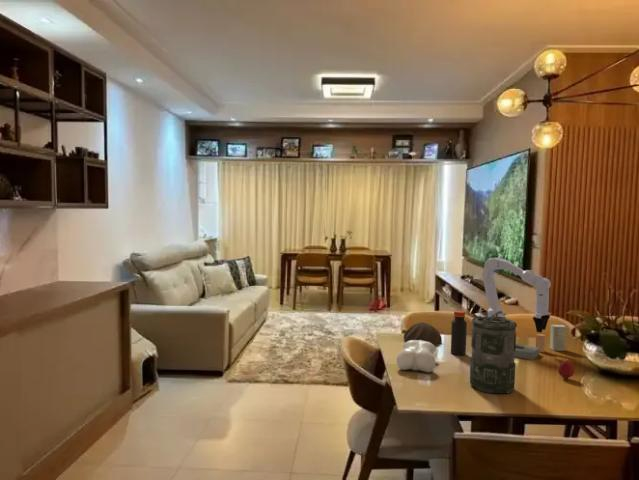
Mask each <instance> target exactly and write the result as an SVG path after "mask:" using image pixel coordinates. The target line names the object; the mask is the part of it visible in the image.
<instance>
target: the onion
mask: <svg viewBox="0 0 639 480" xmlns="http://www.w3.org/2000/svg"><path fill="white" fill-rule="evenodd" d="M569 361H570V360H569V359H565V360H564V361H562V362H561V363H560V364H559V365H558V367H557V372H558V374H559V375H560V376H561V377H562V378H563V379H565V380H569V378H571V377H572V376H573V375H574V374H575V367H574V366H573V364H572V363H570V362H569Z"/></svg>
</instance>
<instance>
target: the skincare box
mask: <svg viewBox="0 0 639 480" xmlns="http://www.w3.org/2000/svg"><path fill="white" fill-rule="evenodd" d="M549 329H550V330H549V332H550V333H549V335H550V336H549V349H550V350H552V351H556V352H557V351H559V352H560V351H561V352H563V351H565V352H566V349H567V348H566V346H567V345H566V344H567V326H566V325H564V324H550V327H549Z"/></svg>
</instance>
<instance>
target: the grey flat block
mask: <svg viewBox="0 0 639 480" xmlns="http://www.w3.org/2000/svg"><path fill="white" fill-rule="evenodd" d="M539 355H540V352H539V348H537V347H536V346H531V345H525V344H524V345H523V344H518V343H516V351H515V356H514V358H518V359H525V360H530V361H531V360H532V361H533V360H535V358H537V357H538V356H539Z"/></svg>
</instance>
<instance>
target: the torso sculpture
mask: <svg viewBox="0 0 639 480" xmlns="http://www.w3.org/2000/svg"><path fill="white" fill-rule="evenodd" d="M403 343H404V344H403V346H402V347H403V349H401V350H400V351H399V352H398V353H397V356H396V365H397V367H398V369H400V370H402V371H407V370H412V371H421V372H424V373H431V372H433V371H434V370H435V368H436V358H435V356H434V353H435V351H436V350H437V349H436V346H434V345H433V344H432V343H430V342H427V341H422V340H410V341H407V342H403Z"/></svg>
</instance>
